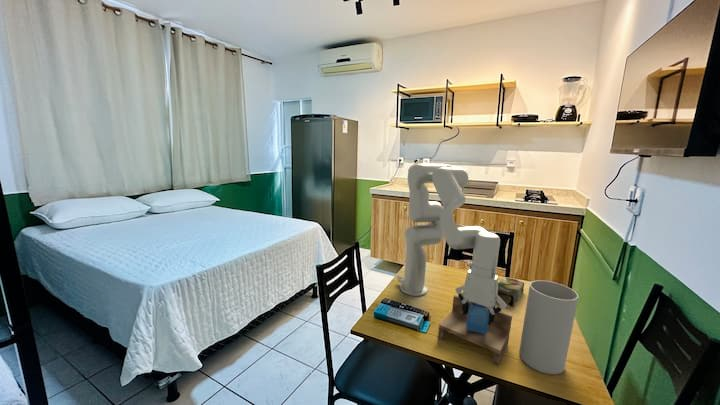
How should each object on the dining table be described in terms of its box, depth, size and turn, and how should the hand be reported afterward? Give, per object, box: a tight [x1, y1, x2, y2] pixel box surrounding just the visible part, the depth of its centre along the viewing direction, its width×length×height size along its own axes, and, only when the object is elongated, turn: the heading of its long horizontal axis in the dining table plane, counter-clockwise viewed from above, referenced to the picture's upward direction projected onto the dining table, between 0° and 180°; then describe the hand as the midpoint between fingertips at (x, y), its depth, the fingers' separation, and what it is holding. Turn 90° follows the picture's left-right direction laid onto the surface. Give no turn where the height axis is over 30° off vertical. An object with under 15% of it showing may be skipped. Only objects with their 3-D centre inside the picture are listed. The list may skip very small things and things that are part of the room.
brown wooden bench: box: [437, 294, 513, 367], centre depth 101 cm, size 20×13×12 cm, turn 51°
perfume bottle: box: [467, 302, 489, 334], centre depth 98 cm, size 6×6×12 cm
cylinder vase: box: [518, 279, 579, 375], centre depth 91 cm, size 12×12×25 cm
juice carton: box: [498, 276, 525, 307], centre depth 135 cm, size 20×10×6 cm, turn 138°
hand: (477, 317), depth 99 cm, fingers closed on perfume bottle, 7 cm apart
